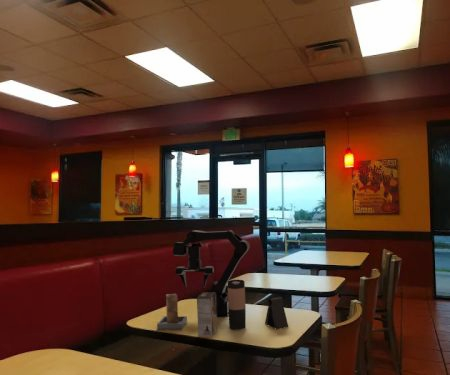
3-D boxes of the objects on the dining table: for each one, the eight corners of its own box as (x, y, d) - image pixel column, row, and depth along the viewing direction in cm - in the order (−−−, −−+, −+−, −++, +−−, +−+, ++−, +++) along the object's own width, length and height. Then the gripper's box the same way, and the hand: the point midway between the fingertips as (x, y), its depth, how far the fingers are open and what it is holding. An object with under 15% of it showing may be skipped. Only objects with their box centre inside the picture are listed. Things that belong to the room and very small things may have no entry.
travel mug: (237, 323, 171) (235, 278, 172) (249, 327, 165) (248, 280, 166) (225, 327, 166) (223, 281, 166) (237, 331, 160) (236, 283, 161)
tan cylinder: (176, 322, 174) (175, 293, 174) (178, 325, 169) (177, 295, 170) (166, 323, 172) (166, 294, 173) (168, 326, 168) (167, 296, 169)
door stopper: (288, 326, 164) (287, 298, 165) (277, 329, 161) (276, 301, 162) (275, 321, 172) (274, 294, 173) (264, 324, 169) (263, 296, 170)
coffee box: (203, 329, 165) (202, 291, 166) (217, 329, 164) (216, 292, 164) (197, 336, 156) (196, 297, 157) (212, 337, 155) (211, 297, 155)
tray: (186, 321, 176) (186, 316, 176) (181, 329, 165) (181, 323, 165) (163, 321, 177) (163, 316, 177) (157, 329, 166) (157, 323, 166)
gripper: (214, 253, 196) (215, 283, 195) (179, 253, 197) (179, 284, 197) (212, 256, 185) (212, 288, 184) (174, 257, 186) (175, 289, 186)
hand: (195, 287), depth 188 cm, fingers open, 9 cm apart
